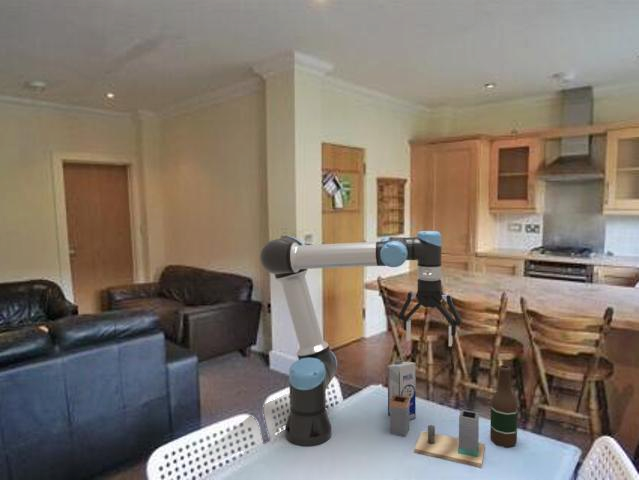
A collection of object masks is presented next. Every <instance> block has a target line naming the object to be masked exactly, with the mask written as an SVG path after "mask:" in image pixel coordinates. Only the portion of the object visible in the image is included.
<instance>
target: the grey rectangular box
mask: <svg viewBox="0 0 639 480" xmlns="http://www.w3.org/2000/svg"><path fill="white" fill-rule="evenodd" d="M479 418H480V413H479V411H473V410H467V409H461V410H460V413H459V417H458V439H459V446H458V453H459V454H464V455H469V456H473V457H478V452H479V443H480V442H479V433H480V432H479V431H480V429H479V426H480V425H479V424H480V422H479V421H480V419H479Z"/></svg>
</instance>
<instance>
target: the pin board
mask: <svg viewBox="0 0 639 480" xmlns="http://www.w3.org/2000/svg"><path fill="white" fill-rule="evenodd" d="M427 426H428V427H427V431H424V430H422V431H421V432H420V434H419V437H418V440H416V441H417V442H416V444H415V446H414V449H413V450H414V451H413V452H414V453H415V454H419V455H423V456H428V457H433V458H438V459H442V460H446V461H450V462H456V463H459V464H464V465H467V466H473V467H477V468H480V469H481V468H482V467H483V462H484V456H485V449H486V444H485V443H481V442H479V452H478V457H473V456H469V455H464V454H459V453H458V446H459V437H453V436H449V435H448V436H447V435H443V434H439V433H436V427H435V425H434V424H433V425H432V424H428V425H427Z"/></svg>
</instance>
